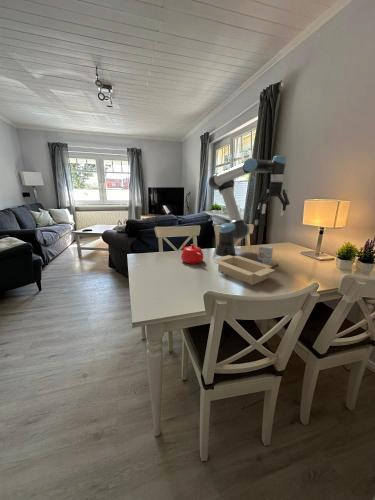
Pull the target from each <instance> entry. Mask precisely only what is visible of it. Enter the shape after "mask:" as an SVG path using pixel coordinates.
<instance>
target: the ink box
mask: <svg viewBox="0 0 375 500" xmlns="http://www.w3.org/2000/svg"><path fill="white" fill-rule="evenodd" d="M273 250H274V246H271V245H265V244H264V245H263V244H260V245H259V246H258V253H257V259H256V260H257V262H260V263H263V264H266V265H270V264H271V262H272V260H273V259H272V258H273Z"/></svg>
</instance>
